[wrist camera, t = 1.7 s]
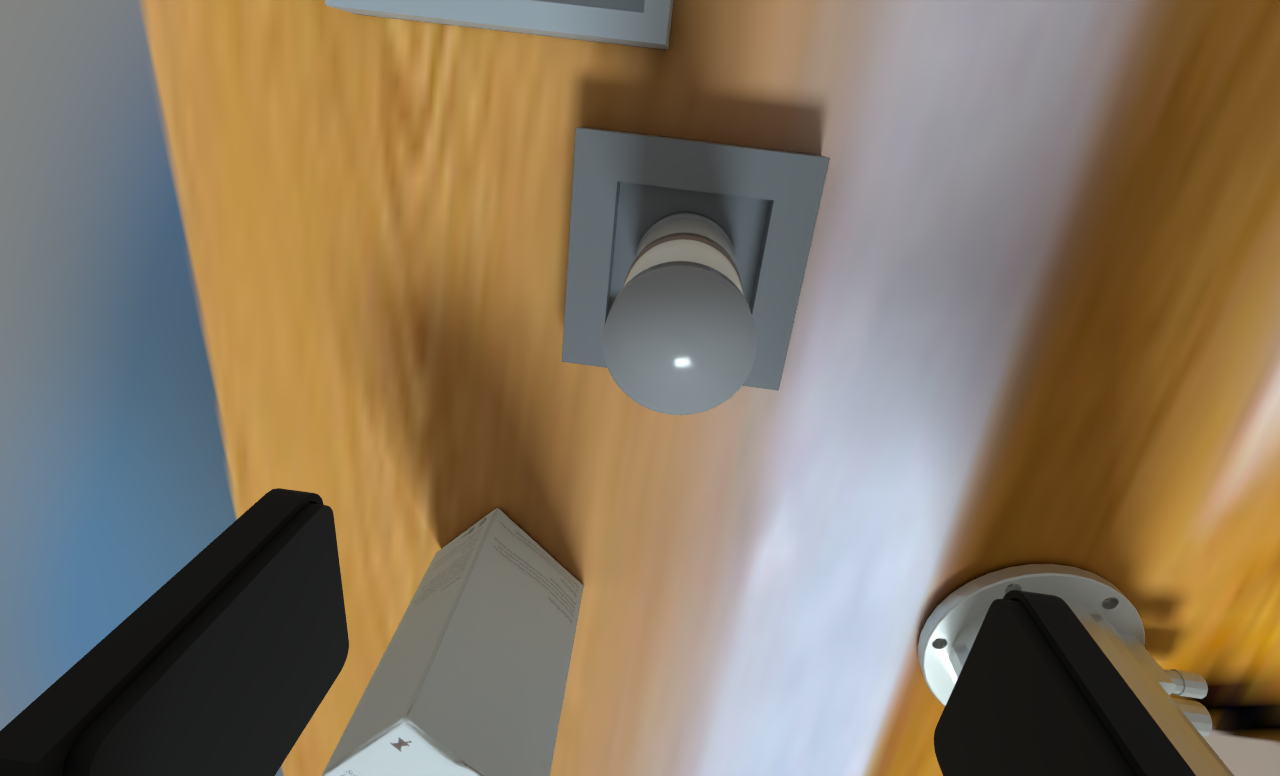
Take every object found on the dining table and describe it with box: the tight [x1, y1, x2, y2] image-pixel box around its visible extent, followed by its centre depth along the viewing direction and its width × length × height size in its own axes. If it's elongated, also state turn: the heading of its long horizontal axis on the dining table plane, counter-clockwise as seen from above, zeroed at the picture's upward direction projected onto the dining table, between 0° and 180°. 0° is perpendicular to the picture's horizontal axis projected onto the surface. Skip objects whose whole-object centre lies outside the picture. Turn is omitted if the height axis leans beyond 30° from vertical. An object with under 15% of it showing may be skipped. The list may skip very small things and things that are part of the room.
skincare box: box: [322, 508, 584, 776], centre depth 33 cm, size 8×6×15 cm
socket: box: [562, 127, 830, 390], centre depth 30 cm, size 11×14×2 cm
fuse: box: [603, 211, 757, 415], centre depth 25 cm, size 5×5×12 cm
